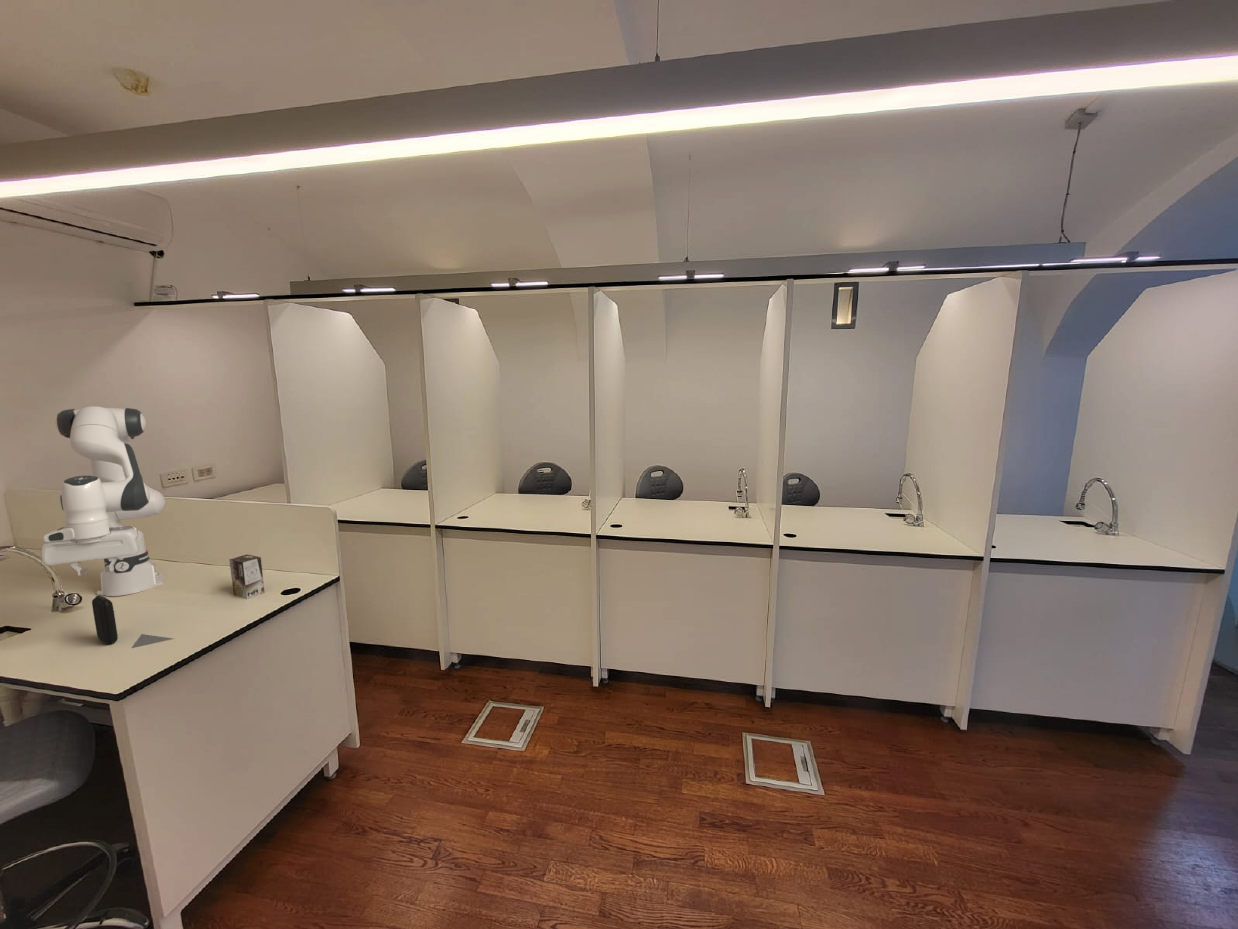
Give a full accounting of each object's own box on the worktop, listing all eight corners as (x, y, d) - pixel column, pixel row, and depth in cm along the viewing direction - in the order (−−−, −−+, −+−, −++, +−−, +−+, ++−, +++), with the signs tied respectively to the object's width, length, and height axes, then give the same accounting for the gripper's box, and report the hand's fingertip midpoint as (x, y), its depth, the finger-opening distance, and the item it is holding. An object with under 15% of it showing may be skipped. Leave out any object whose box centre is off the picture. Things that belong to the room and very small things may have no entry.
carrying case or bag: (95, 639, 150) (88, 595, 148) (108, 635, 152) (102, 592, 150) (106, 648, 144) (99, 602, 142) (120, 644, 147) (113, 599, 145)
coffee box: (266, 597, 181) (261, 557, 179) (247, 604, 176) (242, 562, 173) (252, 593, 185) (247, 553, 183) (233, 599, 179) (228, 558, 177)
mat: (153, 620, 162) (153, 618, 162) (234, 605, 174) (234, 604, 174) (132, 649, 144) (131, 647, 144) (224, 630, 156) (224, 628, 155)
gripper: (140, 522, 151) (146, 563, 153) (45, 532, 140) (53, 576, 142) (133, 527, 146) (140, 570, 148) (34, 537, 135) (42, 583, 137)
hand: (96, 573), depth 145 cm, fingers open, 4 cm apart
